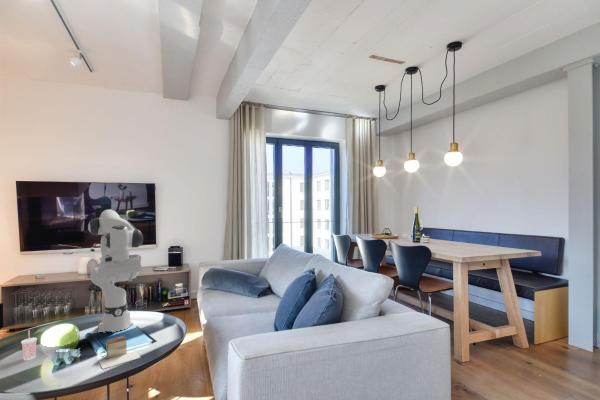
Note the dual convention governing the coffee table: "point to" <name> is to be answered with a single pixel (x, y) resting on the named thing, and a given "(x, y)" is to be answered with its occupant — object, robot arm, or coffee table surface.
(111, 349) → the block
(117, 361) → the pad
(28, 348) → the beverage cup
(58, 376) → the coffee table surface
